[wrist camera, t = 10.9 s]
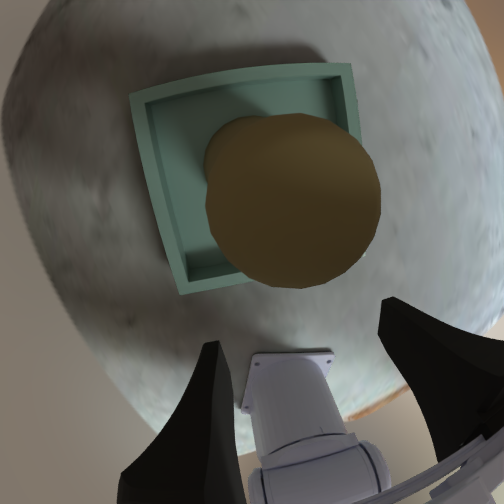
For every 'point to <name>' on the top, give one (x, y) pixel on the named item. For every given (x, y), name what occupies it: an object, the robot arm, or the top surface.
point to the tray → (198, 136)
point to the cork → (290, 198)
